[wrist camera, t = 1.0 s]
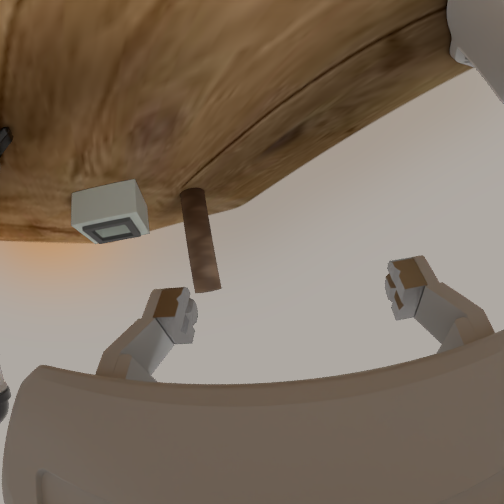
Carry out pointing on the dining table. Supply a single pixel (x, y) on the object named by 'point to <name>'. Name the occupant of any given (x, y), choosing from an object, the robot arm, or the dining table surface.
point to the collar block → (110, 212)
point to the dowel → (199, 241)
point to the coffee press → (3, 139)
